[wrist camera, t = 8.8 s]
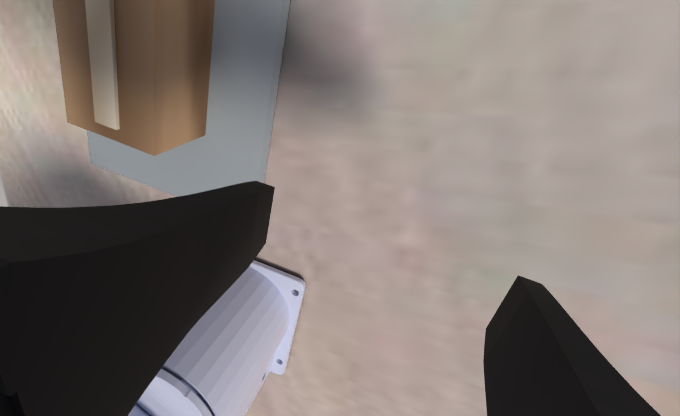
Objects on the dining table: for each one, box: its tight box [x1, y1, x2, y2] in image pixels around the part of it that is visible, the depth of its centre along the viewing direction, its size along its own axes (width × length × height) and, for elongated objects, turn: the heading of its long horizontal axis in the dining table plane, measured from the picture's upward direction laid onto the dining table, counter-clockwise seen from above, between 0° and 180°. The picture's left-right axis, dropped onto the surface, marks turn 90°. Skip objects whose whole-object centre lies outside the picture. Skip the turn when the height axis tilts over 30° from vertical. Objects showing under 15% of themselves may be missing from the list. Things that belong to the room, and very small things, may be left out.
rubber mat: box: [87, 0, 290, 197], centre depth 20 cm, size 18×12×1 cm, turn 166°
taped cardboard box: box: [53, 0, 215, 156], centre depth 17 cm, size 5×9×4 cm, turn 165°
